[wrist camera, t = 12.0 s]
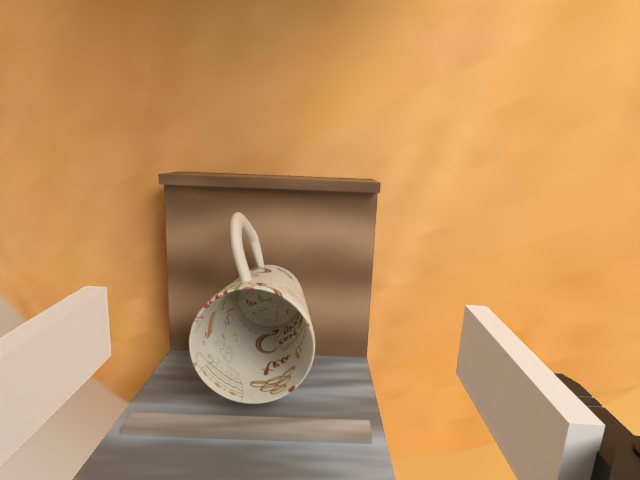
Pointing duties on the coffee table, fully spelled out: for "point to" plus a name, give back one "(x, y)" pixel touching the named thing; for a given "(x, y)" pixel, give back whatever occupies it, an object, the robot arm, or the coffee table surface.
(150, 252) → the coffee table surface
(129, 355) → the coffee table surface
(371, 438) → the cleat board
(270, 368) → the mug
